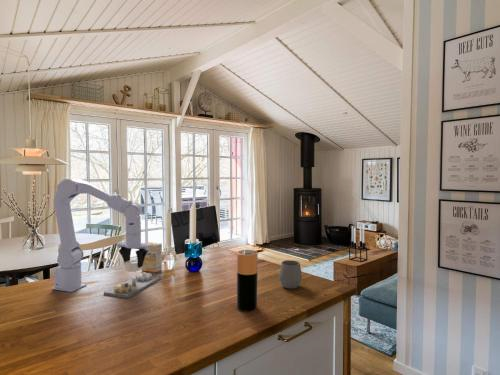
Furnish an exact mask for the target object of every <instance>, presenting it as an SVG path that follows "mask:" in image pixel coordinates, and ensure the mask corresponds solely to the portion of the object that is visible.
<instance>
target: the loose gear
mask: <svg viewBox="0 0 500 375" xmlns="http://www.w3.org/2000/svg"><path fill="white" fill-rule="evenodd" d="M124 269H125V271H126V272H127V273H136V272H139V271H142V269H143V266H142V267H140V268H138V260H137V259H136V258H132V259H130V260H128V261H127V262H125V263H124ZM125 271H124V272H125Z"/></svg>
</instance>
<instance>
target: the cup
mask: <svg viewBox="0 0 500 375" xmlns="http://www.w3.org/2000/svg"><path fill="white" fill-rule="evenodd" d="M278 278H279V281H280V283H281V286H282V287H283V288H285V289H289V290H293V289H297V288H298V287H299V286H300V284H301V282H302V280H303V274H302V268H301V263H300V261H297V260H293V259H292V260H289V259H287V260H283V261H281V264H280V269H279V274H278Z"/></svg>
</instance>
